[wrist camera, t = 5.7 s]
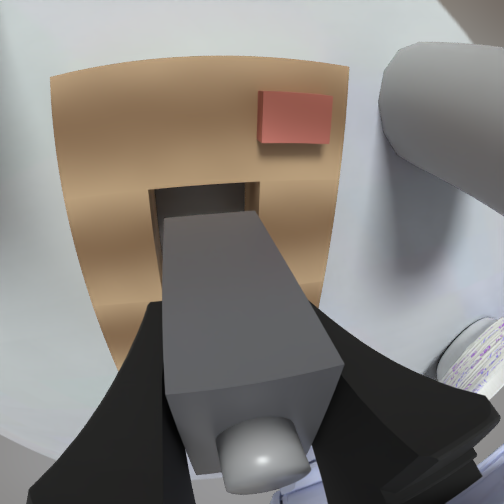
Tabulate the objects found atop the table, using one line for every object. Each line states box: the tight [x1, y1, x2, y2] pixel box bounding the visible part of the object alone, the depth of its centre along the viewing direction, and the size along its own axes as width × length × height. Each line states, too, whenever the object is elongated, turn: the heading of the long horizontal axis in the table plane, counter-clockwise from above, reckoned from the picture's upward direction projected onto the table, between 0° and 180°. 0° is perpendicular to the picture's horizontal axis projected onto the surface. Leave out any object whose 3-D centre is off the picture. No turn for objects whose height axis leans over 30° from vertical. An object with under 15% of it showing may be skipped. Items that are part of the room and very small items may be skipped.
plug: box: [162, 211, 344, 495], centre depth 9 cm, size 4×3×8 cm
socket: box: [50, 56, 349, 371], centre depth 15 cm, size 16×12×4 cm
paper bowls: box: [437, 317, 504, 400], centre depth 30 cm, size 15×15×8 cm
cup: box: [378, 42, 504, 216], centre depth 12 cm, size 8×8×10 cm
